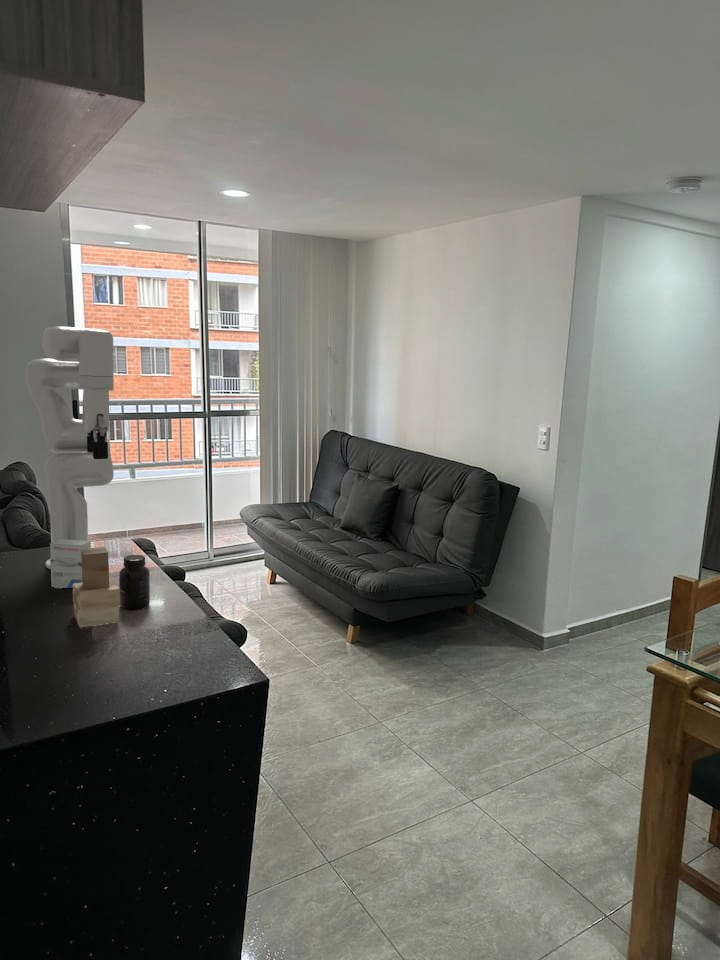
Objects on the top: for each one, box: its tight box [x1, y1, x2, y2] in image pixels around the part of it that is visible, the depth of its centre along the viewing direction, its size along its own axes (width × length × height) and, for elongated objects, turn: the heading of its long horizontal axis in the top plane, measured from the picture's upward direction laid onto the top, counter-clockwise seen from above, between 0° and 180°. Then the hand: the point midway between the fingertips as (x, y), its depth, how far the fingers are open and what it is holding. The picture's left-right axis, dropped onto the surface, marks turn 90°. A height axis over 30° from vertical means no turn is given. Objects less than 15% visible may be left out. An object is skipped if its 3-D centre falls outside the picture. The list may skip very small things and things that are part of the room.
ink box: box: [49, 539, 92, 589], centre depth 166 cm, size 8×5×12 cm, turn 84°
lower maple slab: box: [73, 602, 119, 628], centre depth 146 cm, size 8×8×4 cm
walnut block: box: [81, 546, 110, 590], centre depth 145 cm, size 5×5×8 cm
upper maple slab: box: [72, 578, 120, 612], centre depth 145 cm, size 8×8×4 cm
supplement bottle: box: [118, 554, 151, 611], centre depth 154 cm, size 7×7×12 cm
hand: (97, 455), depth 156 cm, fingers open, 9 cm apart
